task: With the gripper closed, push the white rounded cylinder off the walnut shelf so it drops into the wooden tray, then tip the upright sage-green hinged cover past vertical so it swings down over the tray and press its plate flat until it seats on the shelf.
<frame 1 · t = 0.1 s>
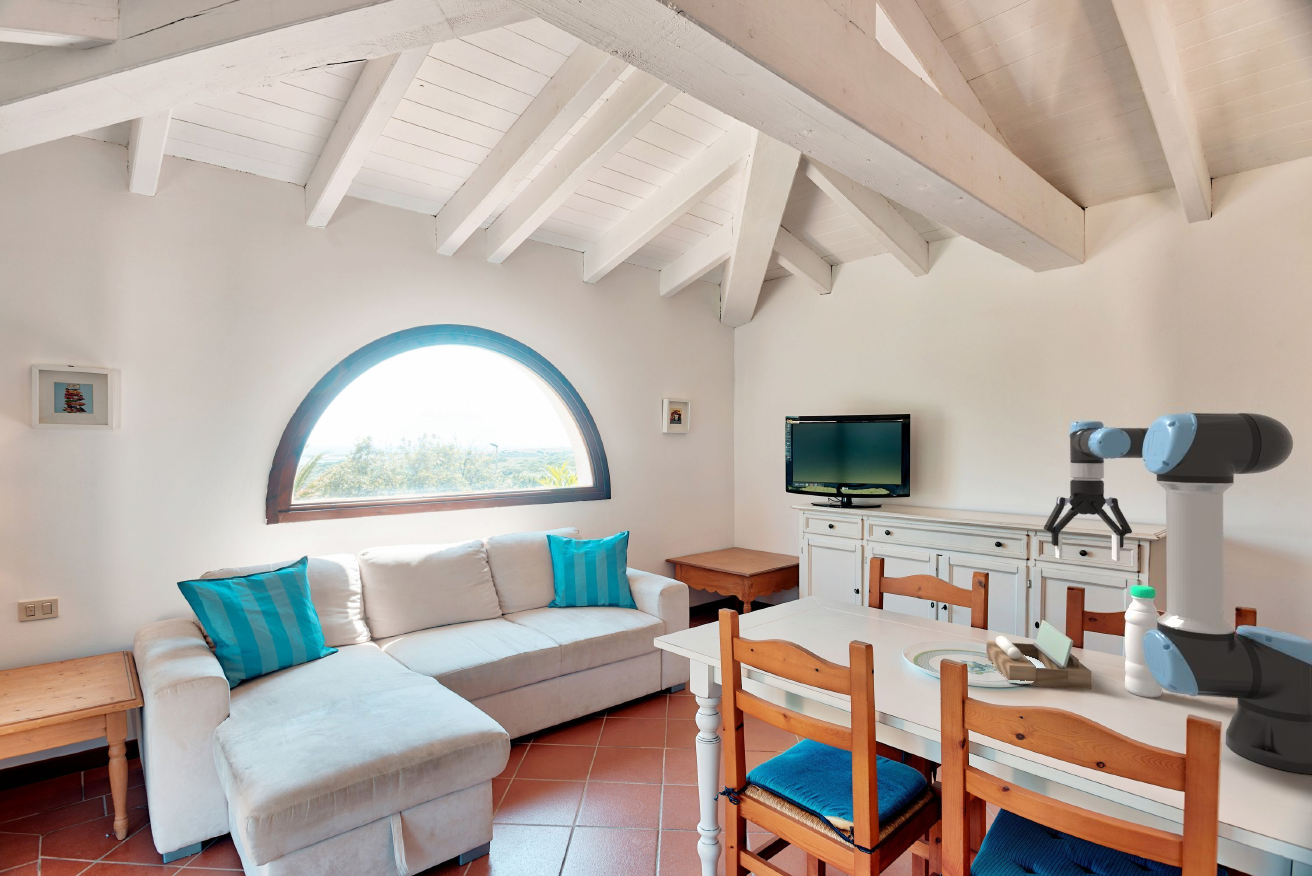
hand: (1087, 559, 176), 28 cm above the table, fingers open, 13 cm apart
white rounded cylinder: (1007, 647, 172), point 6 cm above the table, touching wooden tray
cover: (1052, 643, 170), point 8 cm above the table, hinge at 105.0°
wooden tray: (1035, 672, 171), on the table
water bottle: (1143, 693, 157), on the table
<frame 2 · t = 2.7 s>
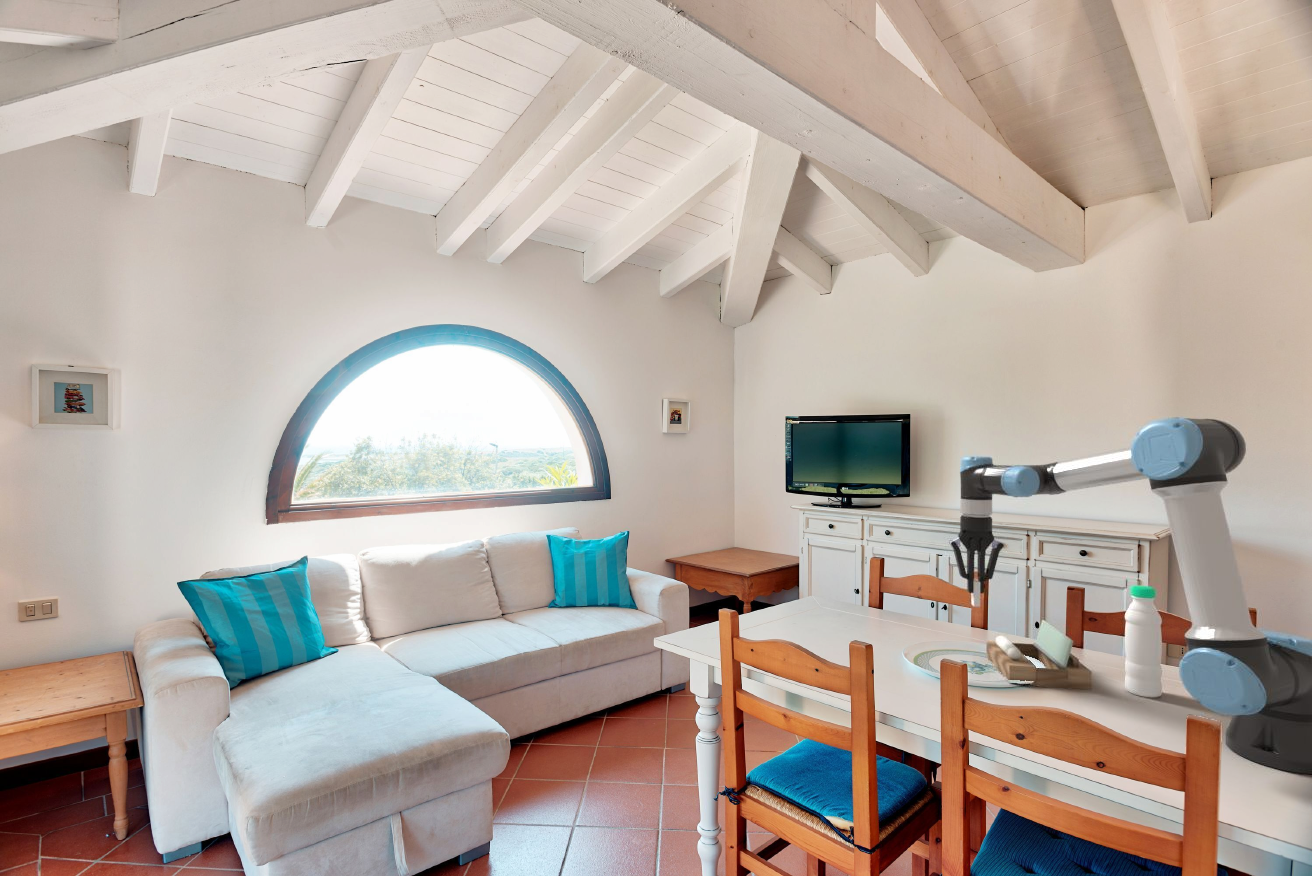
hand: (975, 605, 174), 16 cm above the table, fingers closed
nothing on the table moved.
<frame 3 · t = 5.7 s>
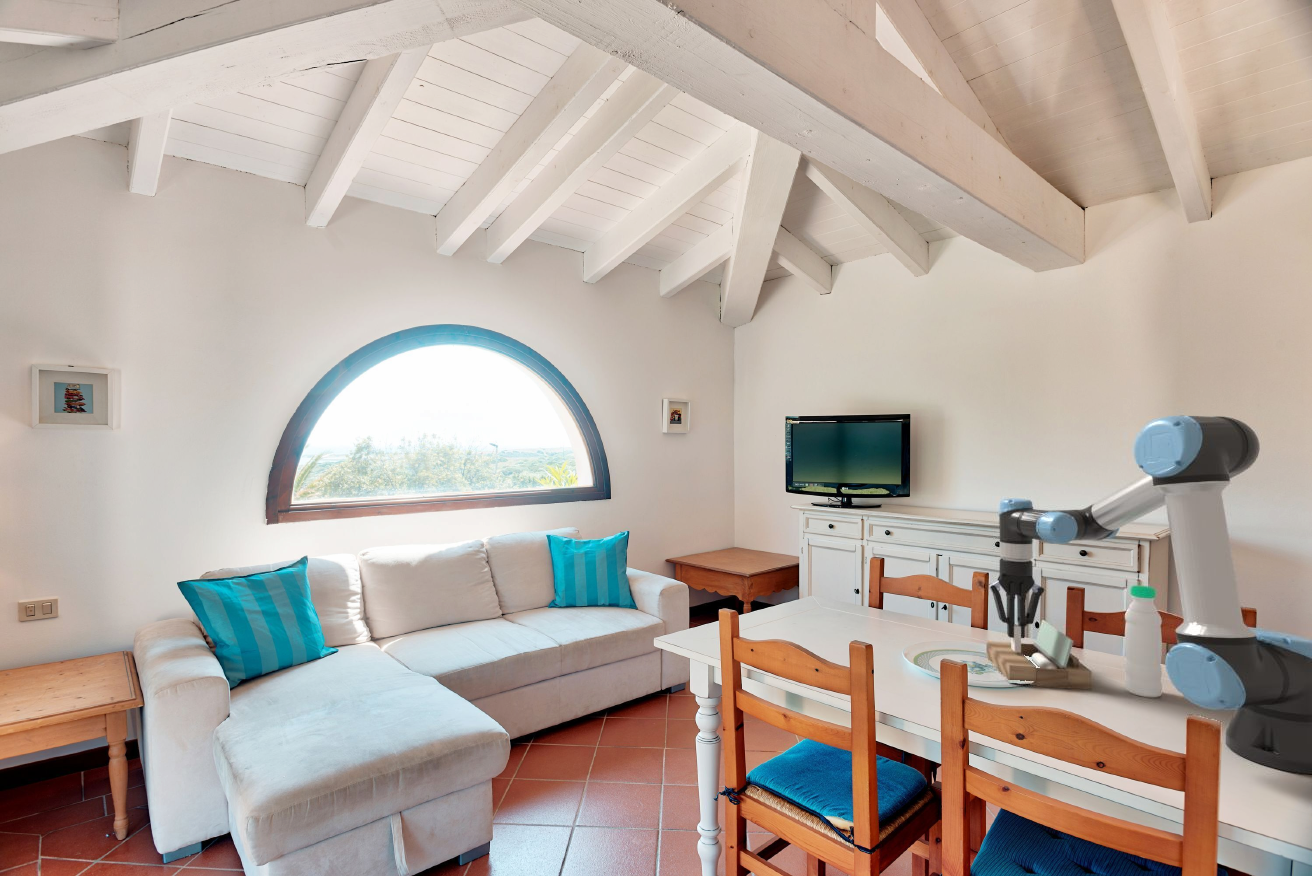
hand: (1016, 650, 171), 5 cm above the table, fingers closed
white rounded cylinder: (1045, 665, 170), point 2 cm above the table, tilted 13°, touching wooden tray
everything else where it was.
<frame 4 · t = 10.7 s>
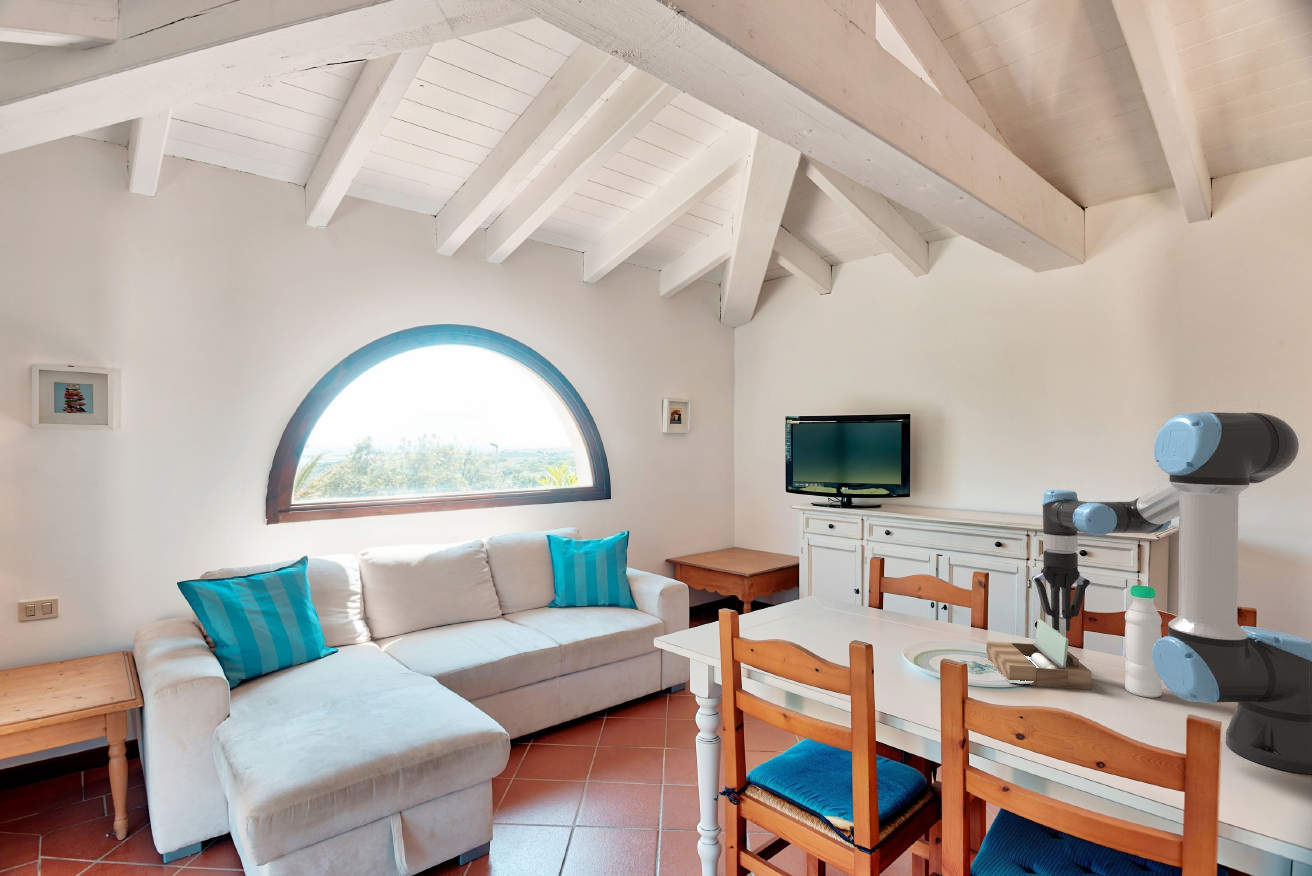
hand: (1060, 643, 170), 8 cm above the table, fingers closed
cover: (1049, 642, 170), point 8 cm above the table, hinge at 95.8°, touching gripper
everything else where it was.
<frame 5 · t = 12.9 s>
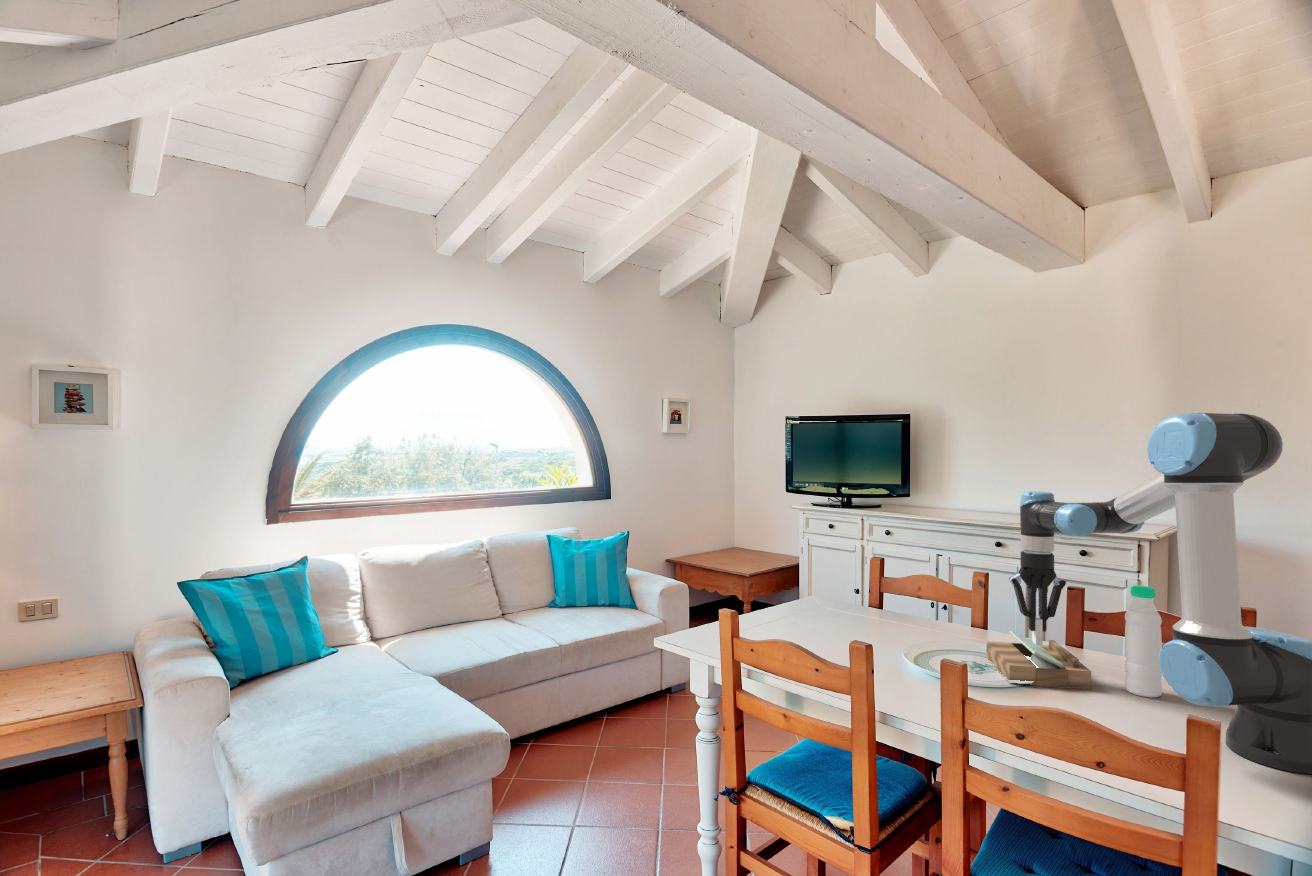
hand: (1037, 643, 170), 7 cm above the table, fingers closed
cover: (1035, 649, 171), point 6 cm above the table, hinge at 24.4°
everything else where it was.
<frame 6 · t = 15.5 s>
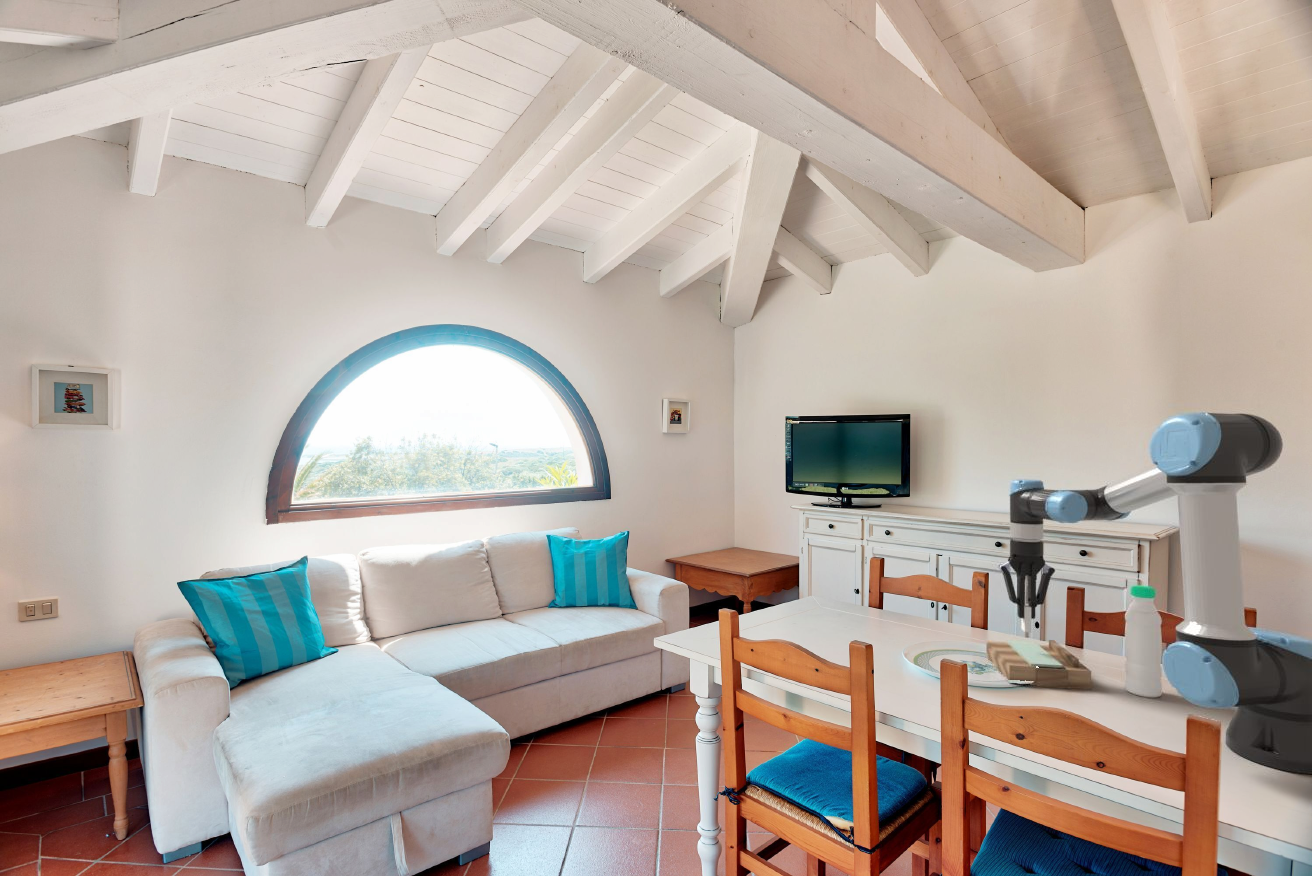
hand: (1026, 630, 171), 10 cm above the table, fingers closed
cover: (1034, 654, 171), point 5 cm above the table, hinge at 0.0°, touching wooden tray
everything else where it was.
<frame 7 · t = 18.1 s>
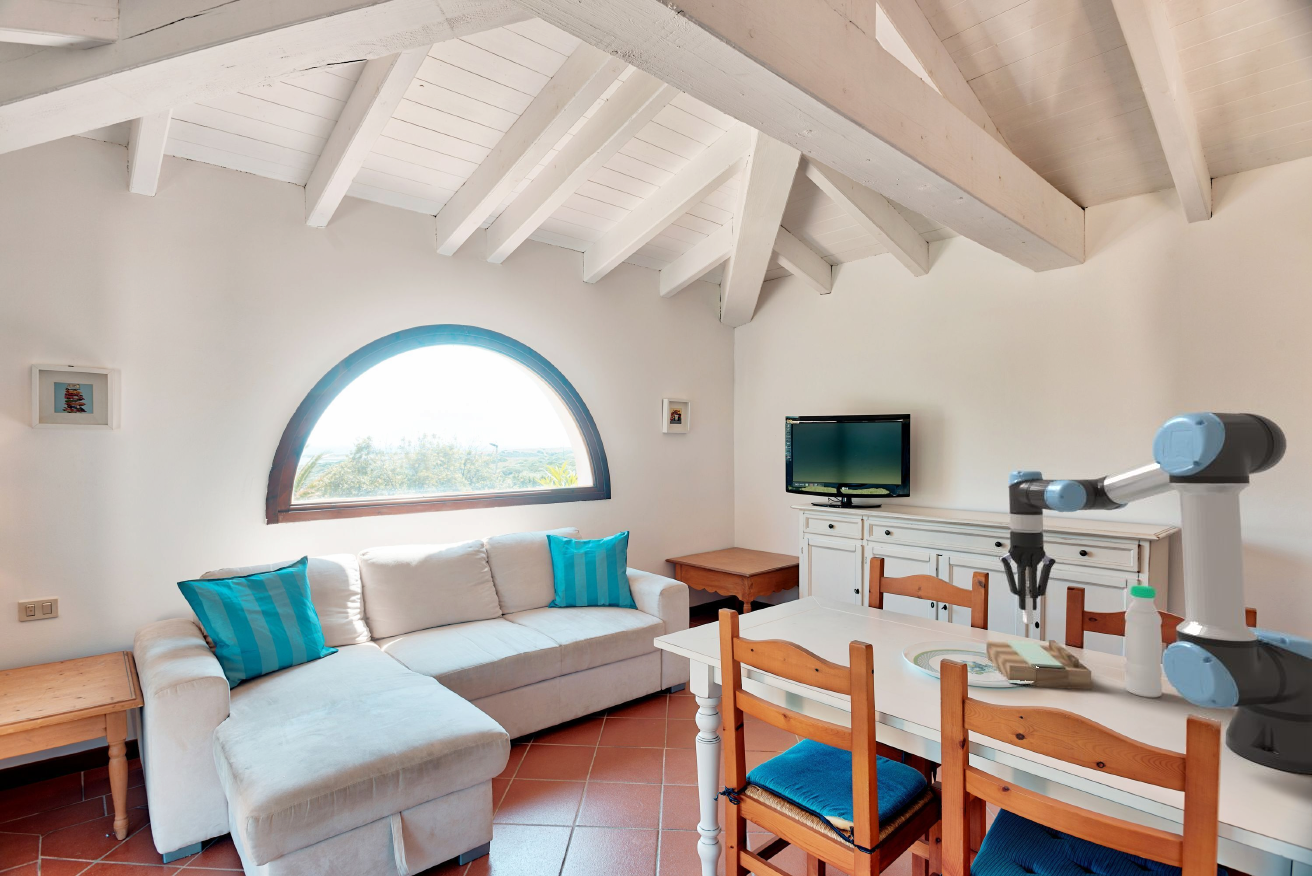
hand: (1028, 622, 171), 13 cm above the table, fingers closed
nothing on the table moved.
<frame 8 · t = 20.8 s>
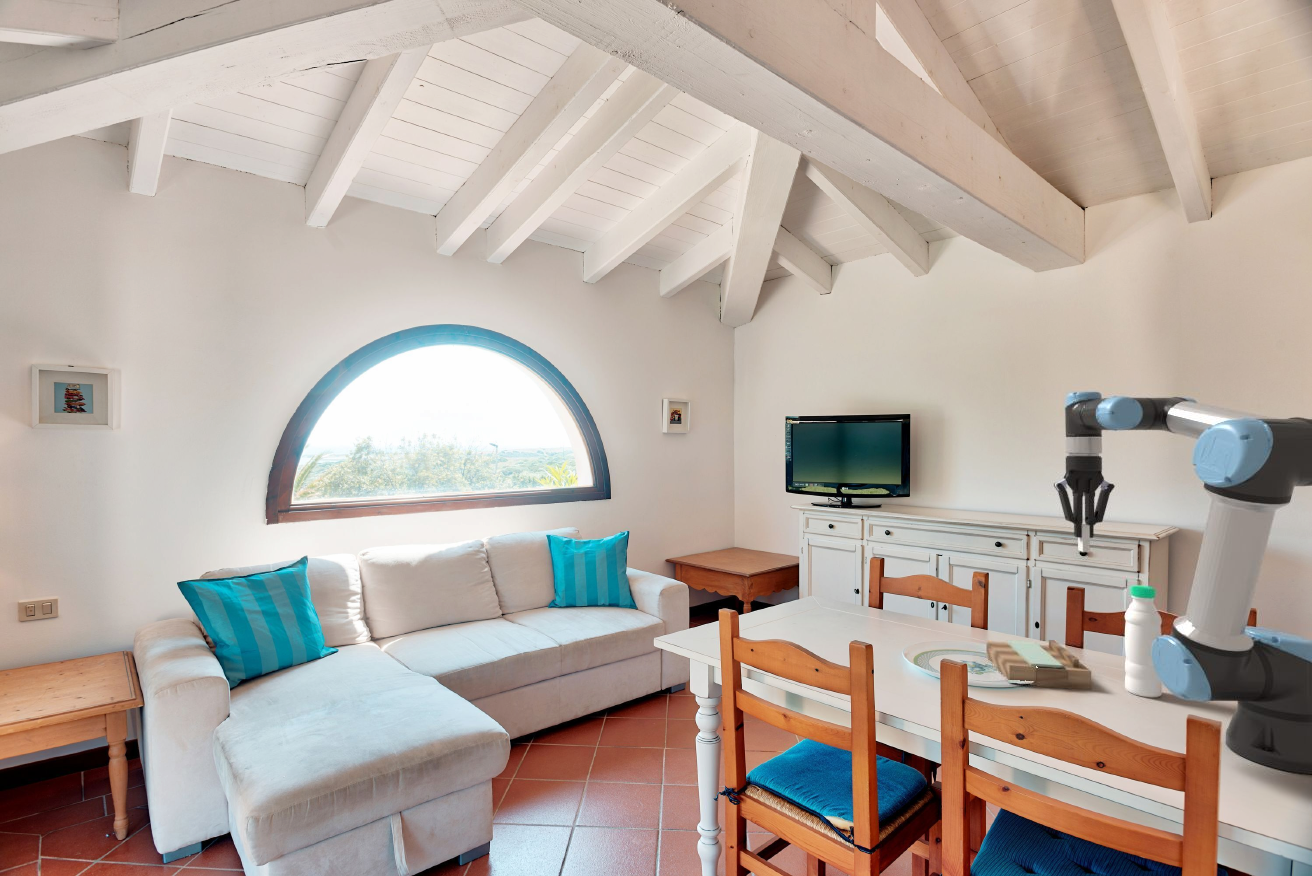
hand: (1083, 551, 163), 32 cm above the table, fingers closed
nothing on the table moved.
at the end: cover at +0° (first picture: +105°); white rounded cylinder inside the target area on the wooden tray (2.0 cm from its centre), point 2.0 cm above the wooden tray's base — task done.
